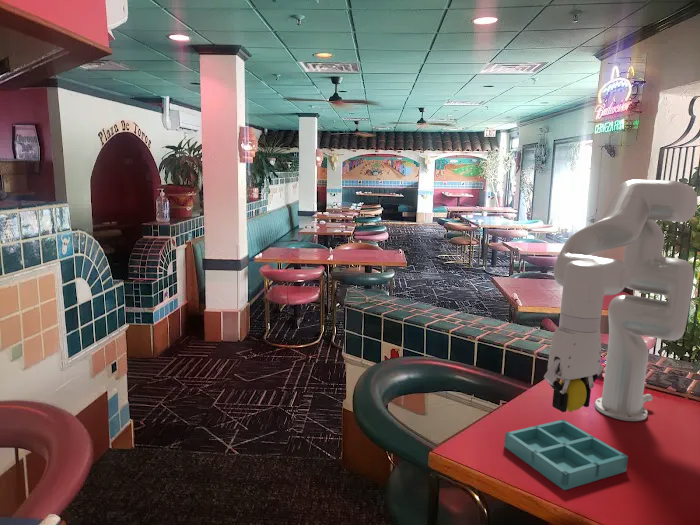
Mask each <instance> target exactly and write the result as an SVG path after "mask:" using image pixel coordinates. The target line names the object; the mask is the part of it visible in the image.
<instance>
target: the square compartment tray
mask: <svg viewBox="0 0 700 525" xmlns="http://www.w3.org/2000/svg"><path fill="white" fill-rule="evenodd" d="M504 448H505V449H506V450H508V451H510V452H511V453H512V454H513V455H514V456H516V457H517V458H519V459H520V460H522V461H523V462H525V464H528V465H529V466H530V467H531V468H532V469H534V470H535V471H537V472H539V474H541V475H542V476H544V477H545V478H546V479H547V480H549V481H551V482H552V483H553V484H555V485H556V486H557V487H558V488H561V489H562V490H563V491H566V490H570V489H574V488H576V487H580V486H583V485H587V484H590V483H593V482H596V481H599V480H602V479H606V478H610V477H612V476H615V475H619V474H622V473H625V472H627V469H628V467H627V466H628V462H629V461H628V460H629V456H628V455H627V454H625V453H623V452H621V451H619V450H618V449H617V448H614V447H612V446H611V445H609V444H608V443H606V442H604V441H603V440H600V439H599V438H598V437H595V436H594V435H591V434H590V433H589V432H586V431H585V430H583V429H581V428H579V427H577V426H576V425H574V424H572V423H570V422H569V421H567V420H566V419H559V420H555V421H551V422H546V423H542V424H538V425H534V426H528V427H526V428H525V427H524V428H521V429H516V430H512V431H508V432H505V436H504Z"/></svg>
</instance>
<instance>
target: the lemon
mask: <svg viewBox="0 0 700 525" xmlns="http://www.w3.org/2000/svg"><path fill="white" fill-rule="evenodd" d="M559 383H560V384H561V385H562V383H563V380H562V379H561V380H560V382H559ZM566 393H567V394H568V400H567V410H566V411H567V412H569V413H571V412H573V411H578V410H580V409H581V408H582V407H584V406H583V405H584V403H585V401H586V396H587V392H586V387H585V384H584V383H583V381H582V380H581V379H579V378H578V379H573V380H570V382H569V385H568V388H567V390H566Z"/></svg>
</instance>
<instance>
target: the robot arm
mask: <svg viewBox="0 0 700 525" xmlns="http://www.w3.org/2000/svg"><path fill="white" fill-rule="evenodd" d="M697 208H698V194H697V192H696V190H695V189H694V188H693V186H690V185H688V184H686V183H683V182H681V181H677V180H666V179H664V180H663V179H662V180H661V179H629V180H625V181H623V182H622V183H620V185H618V187H617V188H616V190H615V192H614V194H613V195H612V197H611V200H610V201H609V204H608V205H607V207H606V209H605V211H604V213H603V214H602V217H601V218H600V220H597V221H596V222H593V223H590V224H589V225H587V226H584V227H583V228H581V229H580V230H577V232H575V233H573V234H572V235H571V236H570V237H569V238H568V239H567V240H566V241H565V243H564V245H563V247H562V248H561V250H560V251H559V253H558V255H557V258H556V260H555V263H554V267H553V277H554V280H555V282H556V284H558V285H559V286H561V287H562V294H561V304H560V313H559V324H558V327H556V328H555V330H554V334H553V336H552V340H551V345H550V349H549V354H548V355H549V356H548V361H547V371H546V372H545V374H544V375H543V379H544V380H546V381H547V382H548V384H549V385H550V386H551V389H552V390H553V394H552V408H555V409H556V410H557V411H560V412H561V413H565V412H567V411H568V410H567V400H568V394H567V393H566V390H567V388H568V385H569V382H570V380H573V379H578V378H579V379H581V380H582V381H583V383H584V384H585V387H586V392H587V396H586V401H585V403H584V405H583V406H582V407H584V408H589V407H590V402H591V401H590V400H591V393H592V389H593V388H594V385H595V381H596V380H598V377H599V376H600V374H601V373H602V372H603V371H604V370H605V371H604V376H603V377H604V378H603V386H602V393H601V394H602V395H601V397H598V398H596V400H595V402H594V408H595V409H596V410H597V411H598V412H600V413H601V414H602V415H605V416H607V417H609V418H613V419H616V420H620V421H626V422H640V421H644V420H646V419H647V418H648V413H649V412H648V410H647V409H646V408H645V407H644V404H645V403H646V402H647V403H648V402H651V401H653V398H654V397H653V395H652V394H651V393H646V394H644V391H645V382H646V375H647V368H648V360H649V355H650V354H649V348H648V345H647V343H646V342H645V339H644V337H643V336H646V337H650V338H656V339H658V340H659V339H660V340H665V341H672V342H673V341H678V340H680V339H681V338H682V337H683V335H684V333H685V331H686V328H687V327H686V326H687V323H688V317H689V311H690V306H691V304H690V303H691V300H692V299H691V297H692V293H693V291H692V290H693V286H694V279H695V278H694V277H695V275H694V274H695V272H694V269H693V266H692V264H691V263H690V262H689V261H687V260H685V259H682V258H674V257H667V256H663V251H664V242H665V234H664V232H663V230H662V229H661V226H659V224H658V223H657V222H656V221H664V222H665V221H666V222H676V223H677V222H678V223H685V222H688V221H690V220H691V219H692V218H693V217H694V215H695V213H696V211H697ZM622 247H624V250H623V251H624V252H623V259H622V260H620V259H617V258H611V257H605V256H598V255H591V254H593V253H597V252H601V251H606V250H612V249H618V248H622ZM625 288H627V289H629V290H632V291H637V292H641V293H647V294H648V293H649V294H655V295H660V296H664V297H666V298H667V300H661V299H654V298H650V297H644V296H639V295H638V296H637V295H630V294H621V295H617V294H619V293H621V292H623V291H624V290H625ZM614 295H616V296H615V297H613V298H612V299H611V301H610V302H609V305H608V309H607V313H608V315H607V316H608V318H607V319H608V344H607V351H606V352H607V353H606V360H605V368H604V367H603V365H602V364H601V355H602V334H601V321H602V313H603V305H604V297H605V296H614ZM561 380H563V383H562V385H561V384H560V382H561Z"/></svg>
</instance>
